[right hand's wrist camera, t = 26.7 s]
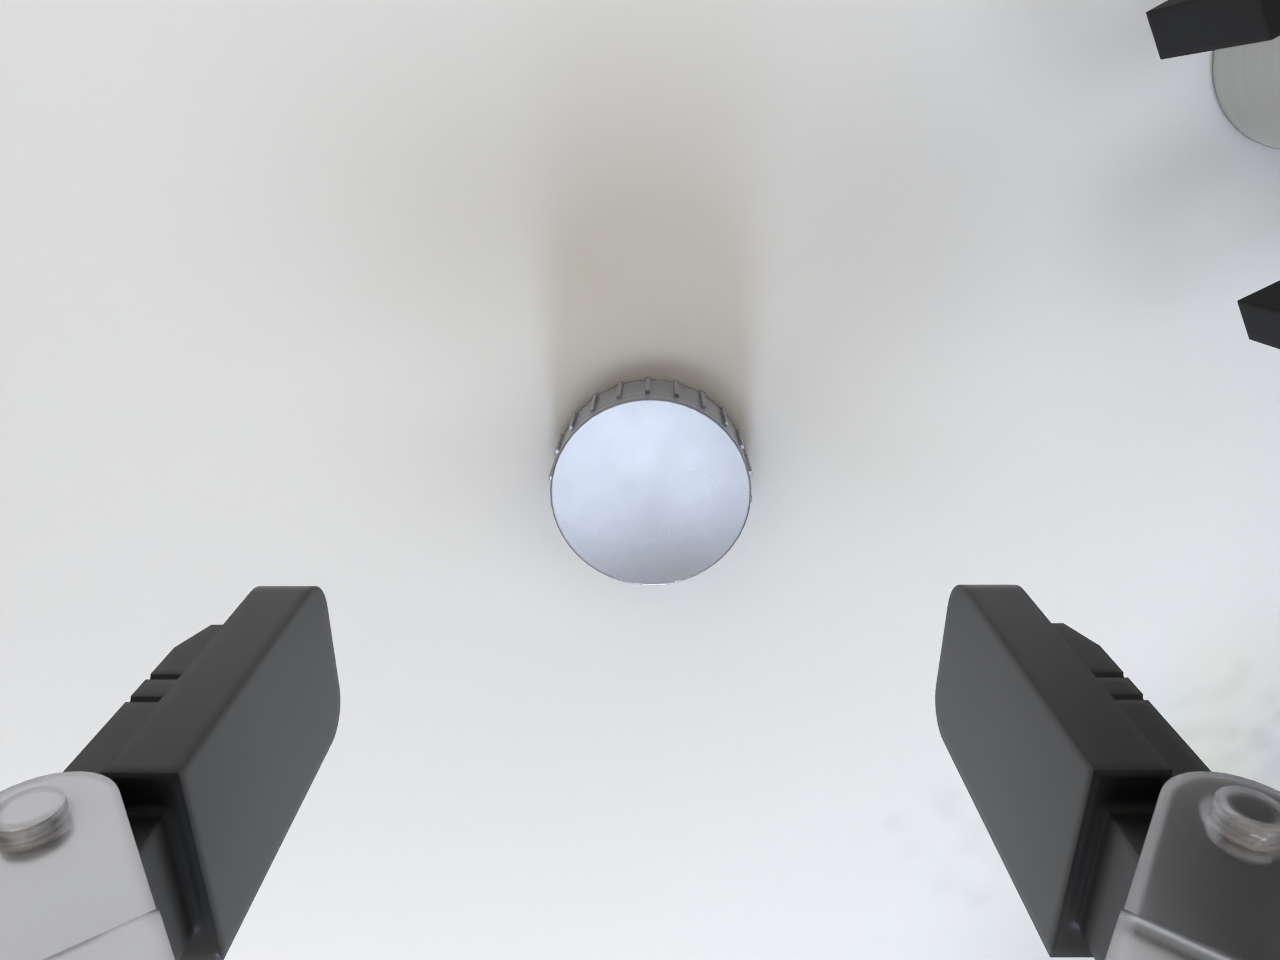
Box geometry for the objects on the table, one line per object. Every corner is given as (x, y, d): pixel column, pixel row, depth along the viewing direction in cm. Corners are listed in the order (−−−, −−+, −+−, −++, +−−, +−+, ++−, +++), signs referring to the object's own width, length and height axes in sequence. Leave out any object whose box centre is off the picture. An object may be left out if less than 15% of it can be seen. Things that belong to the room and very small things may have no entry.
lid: (676, 337, 21) (678, 353, 19) (783, 494, 22) (793, 521, 21) (516, 446, 22) (505, 469, 20) (628, 589, 23) (625, 622, 22)
